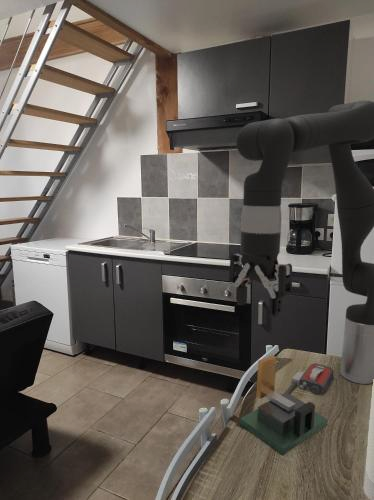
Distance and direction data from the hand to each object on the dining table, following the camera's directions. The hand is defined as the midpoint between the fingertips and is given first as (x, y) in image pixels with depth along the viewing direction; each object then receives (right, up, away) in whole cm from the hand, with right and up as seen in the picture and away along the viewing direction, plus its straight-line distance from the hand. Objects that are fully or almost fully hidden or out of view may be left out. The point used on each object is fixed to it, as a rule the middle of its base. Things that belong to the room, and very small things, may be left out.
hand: (257, 309), depth 73 cm
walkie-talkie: (+19, -26, +27) cm, 42 cm away
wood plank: (+7, -23, +11) cm, 26 cm away
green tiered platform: (+8, -28, +10) cm, 31 cm away
